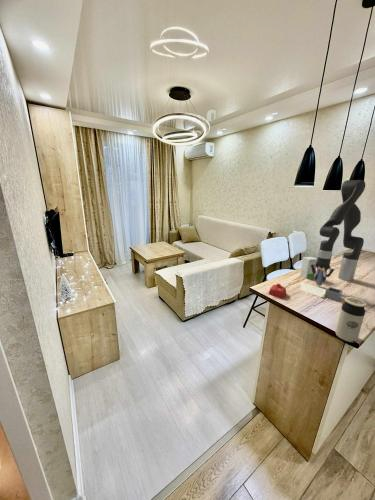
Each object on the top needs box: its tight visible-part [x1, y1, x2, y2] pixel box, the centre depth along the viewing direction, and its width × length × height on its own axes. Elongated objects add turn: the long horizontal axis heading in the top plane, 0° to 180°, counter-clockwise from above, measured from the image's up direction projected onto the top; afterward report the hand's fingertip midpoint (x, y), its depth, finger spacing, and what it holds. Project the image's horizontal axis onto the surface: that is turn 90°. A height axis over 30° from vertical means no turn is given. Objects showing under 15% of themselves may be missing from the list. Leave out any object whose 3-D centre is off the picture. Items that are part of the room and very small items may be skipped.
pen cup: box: [325, 286, 343, 302], centre depth 129 cm, size 7×7×5 cm
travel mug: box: [335, 296, 367, 343], centre depth 92 cm, size 8×8×18 cm
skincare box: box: [299, 256, 317, 279], centre depth 158 cm, size 8×7×16 cm
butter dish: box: [268, 283, 287, 299], centre depth 129 cm, size 12×12×8 cm
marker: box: [315, 268, 324, 287], centre depth 141 cm, size 4×4×13 cm
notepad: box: [299, 281, 327, 300], centre depth 138 cm, size 14×18×1 cm
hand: (319, 280), depth 142 cm, fingers closed on marker, 3 cm apart
